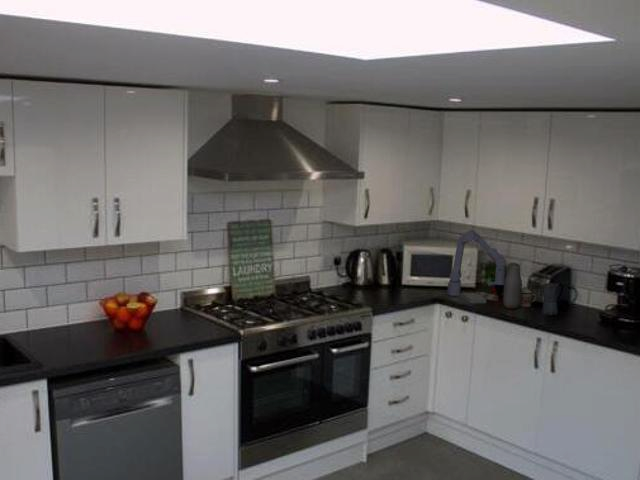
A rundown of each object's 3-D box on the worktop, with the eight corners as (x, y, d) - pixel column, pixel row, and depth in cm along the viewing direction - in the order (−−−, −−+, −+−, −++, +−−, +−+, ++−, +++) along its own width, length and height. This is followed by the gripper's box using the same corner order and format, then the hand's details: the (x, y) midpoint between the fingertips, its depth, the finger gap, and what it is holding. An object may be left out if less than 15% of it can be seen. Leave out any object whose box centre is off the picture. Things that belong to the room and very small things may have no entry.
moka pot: (534, 312, 396) (536, 279, 394) (555, 310, 402) (557, 278, 399) (544, 316, 388) (547, 282, 385) (566, 314, 393) (568, 281, 390)
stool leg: (475, 296, 434) (475, 291, 434) (478, 295, 436) (479, 291, 436) (495, 301, 422) (495, 296, 422) (498, 300, 424) (498, 295, 424)
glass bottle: (512, 306, 411) (515, 261, 407) (523, 310, 401) (526, 264, 397) (499, 307, 407) (502, 261, 403) (509, 311, 398) (512, 264, 394)
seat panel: (461, 296, 433) (461, 292, 433) (475, 296, 434) (476, 292, 434) (470, 303, 415) (470, 299, 415) (486, 303, 417) (486, 299, 416)
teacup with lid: (518, 307, 409) (520, 288, 407) (514, 303, 418) (515, 285, 416) (538, 307, 409) (539, 288, 408) (533, 303, 418) (534, 285, 417)
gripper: (491, 277, 422) (489, 298, 424) (513, 277, 424) (511, 298, 426) (487, 274, 429) (485, 295, 431) (508, 275, 431) (507, 295, 433)
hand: (498, 296), depth 429 cm, fingers closed
